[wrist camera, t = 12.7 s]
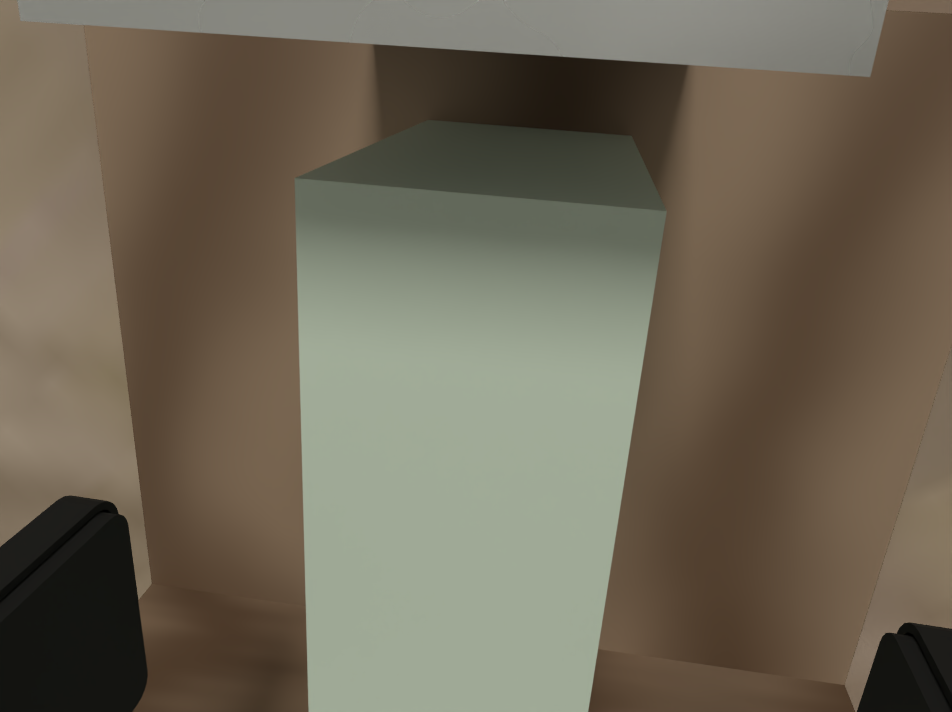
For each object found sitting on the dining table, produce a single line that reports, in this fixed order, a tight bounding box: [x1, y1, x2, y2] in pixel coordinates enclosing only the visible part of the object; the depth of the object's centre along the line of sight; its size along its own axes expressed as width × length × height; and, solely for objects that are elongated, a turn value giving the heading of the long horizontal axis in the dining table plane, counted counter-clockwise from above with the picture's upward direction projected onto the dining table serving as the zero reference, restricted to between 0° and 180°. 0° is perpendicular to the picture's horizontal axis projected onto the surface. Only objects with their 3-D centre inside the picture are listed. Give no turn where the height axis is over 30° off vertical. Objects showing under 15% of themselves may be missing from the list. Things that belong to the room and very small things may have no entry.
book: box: [295, 120, 667, 712], centre depth 14 cm, size 4×11×8 cm, turn 176°
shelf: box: [17, 0, 952, 712], centre depth 13 cm, size 18×16×12 cm
